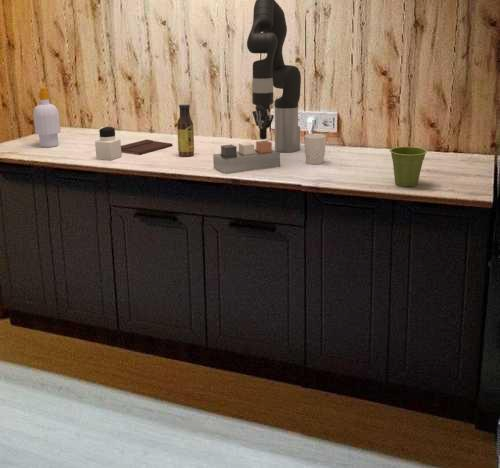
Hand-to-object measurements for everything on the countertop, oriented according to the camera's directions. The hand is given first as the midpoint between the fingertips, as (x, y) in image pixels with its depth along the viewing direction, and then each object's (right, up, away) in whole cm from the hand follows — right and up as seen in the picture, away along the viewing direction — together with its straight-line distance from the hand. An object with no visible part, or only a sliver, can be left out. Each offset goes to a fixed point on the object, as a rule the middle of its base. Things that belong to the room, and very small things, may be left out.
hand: (263, 138), depth 266 cm
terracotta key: (0, -4, +2) cm, 5 cm away
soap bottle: (-90, +3, +44) cm, 100 cm away
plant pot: (+46, -19, -27) cm, 57 cm away
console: (-6, -10, 0) cm, 12 cm away
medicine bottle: (-60, -5, +19) cm, 63 cm away
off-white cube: (-6, -5, -1) cm, 8 cm away
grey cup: (+19, -8, +5) cm, 22 cm away
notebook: (-49, 0, +35) cm, 60 cm away
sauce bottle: (-30, -4, +21) cm, 37 cm away
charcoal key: (-12, -7, -4) cm, 15 cm away
